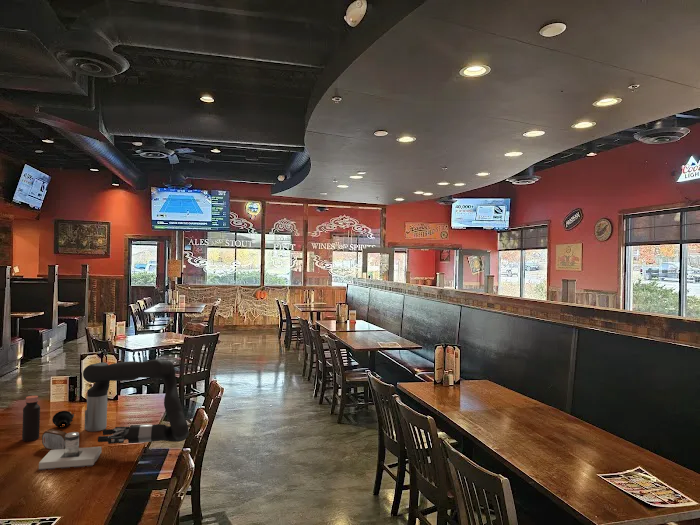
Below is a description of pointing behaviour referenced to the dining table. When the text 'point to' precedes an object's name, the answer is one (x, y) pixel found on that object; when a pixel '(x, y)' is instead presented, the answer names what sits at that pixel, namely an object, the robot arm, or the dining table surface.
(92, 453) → the block
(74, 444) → the canister
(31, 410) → the bottle
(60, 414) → the fried shrimp in bowl
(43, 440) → the tin
